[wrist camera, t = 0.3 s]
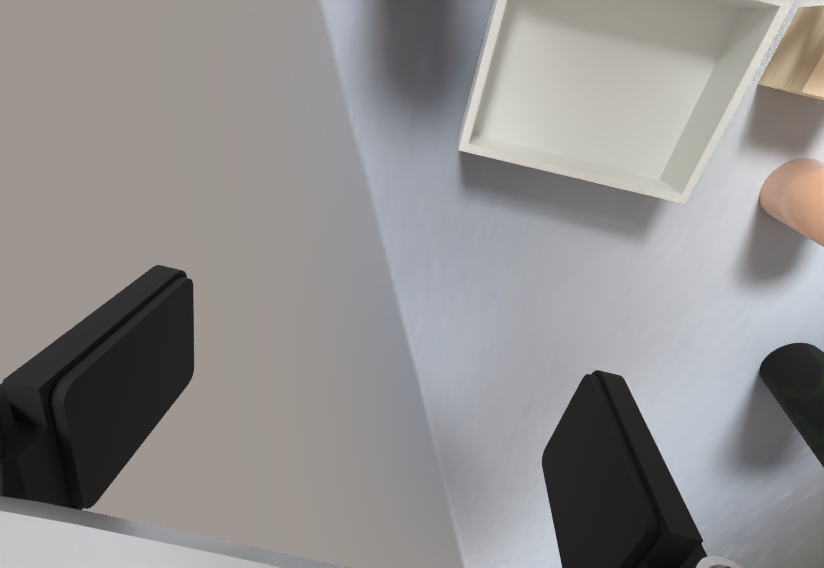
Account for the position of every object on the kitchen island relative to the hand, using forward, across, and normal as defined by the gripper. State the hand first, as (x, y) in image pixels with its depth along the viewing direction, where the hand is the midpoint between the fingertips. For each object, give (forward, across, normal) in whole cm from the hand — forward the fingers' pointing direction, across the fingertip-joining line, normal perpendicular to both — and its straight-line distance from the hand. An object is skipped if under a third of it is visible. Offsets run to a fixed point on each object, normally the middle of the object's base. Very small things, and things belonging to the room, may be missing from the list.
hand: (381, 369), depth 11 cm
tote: (+31, -10, -7) cm, 33 cm away
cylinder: (+31, -30, -3) cm, 43 cm away
